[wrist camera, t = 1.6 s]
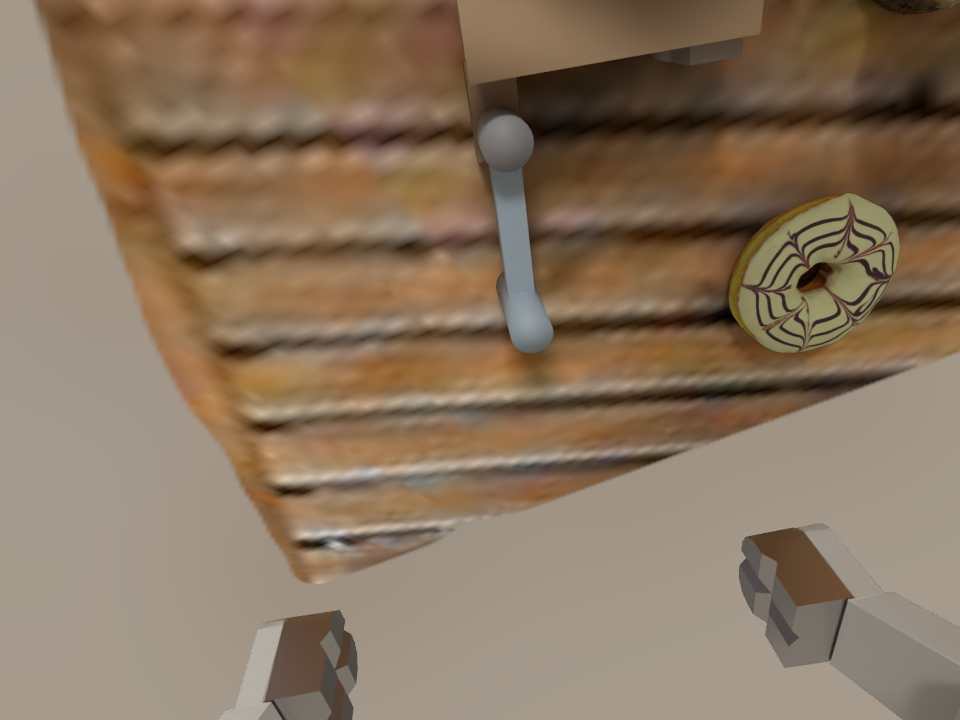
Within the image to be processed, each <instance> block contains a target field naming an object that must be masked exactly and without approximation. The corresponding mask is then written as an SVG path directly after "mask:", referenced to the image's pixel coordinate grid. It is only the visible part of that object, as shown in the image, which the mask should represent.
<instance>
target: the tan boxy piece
mask: <svg viewBox="0 0 960 720" xmlns="http://www.w3.org/2000/svg"><path fill="white" fill-rule="evenodd" d="M456 5H457V12H458V19H459V26H460V33H461V40H462V47H463V54H464V61H463V69H464V76H465V83H466V89H467V96H468V103H469V110H470V117H471V124H472V130H473V137H474V144H475V151H476V157H477V159H478V162H479V163H482V162H486V161H485V159H484V157H483V155H482V153H481V150H480V148H479V146H478V144H477V141H476V137H475V128H476V124H477V121H478V119H479V118H480V116H481V115H482V114H483V113H484V112H485V111H486V110H488V109H490V108H492V107H496V106H503V107H507V108H510V109H511V110H513V111H514V112H515V113H516V114H517V115H518V116H519V117H520V108H519V98H518V88H517V78H516V77H519V76H525V75H531V74H536V73H542V72H548V71H554V70H559V69H565V68H571V67H576V66H582V65H588V64H593V63H599V62H605V61H610V60H616V59H622V58H627V57H633V56H639V55H644V54H650V53H652V59H653V60H658V61H664V62H670V63H675V64H681V65H687V66H692V65H698V64H703V63H709V62H715V61H721V60H726V59H732V58H738V57H741V47H742V37H747V36H752V35H758V34H761V25H762V15H763V6H764V0H456ZM520 118H521V117H520Z"/></svg>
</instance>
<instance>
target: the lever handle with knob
mask: <svg viewBox="0 0 960 720" xmlns="http://www.w3.org/2000/svg"><path fill="white" fill-rule="evenodd" d="M475 137H476V141H477V144H478V146H479V148H480V150H481V153H482V155H483V157H484V159H485V161H486V162H487V164H488V165H489V169H490V176H491V184H492V191H493V198H494V206H495V213H496V220H497V228H498V235H499V242H500V250H501V257H502V265H503V273H502V274H501V275H500V276H499V278H498V280H497V285H496V287H497V292H498V295H499V297H500V300H501V304H502V307H503V311H504V314H505V318H506V322H507V325H508V329H509V333H510V336H511V340H512V343H513V345H514V346H515V347H516V348H517V349H518V350H520V351H521V352H524V353H536V352H539V351H541V350H543V349H545V348H546V347H547V346H548V345H549V344H550V342H551V340H552V338H553V328H552V325H551V323H550V320H549V318H548V316H547V313H546V311H545V308H544V306H543V304H542V301H541V299H540V296H539V294H538V292H537V289H536V287H535V283H534V280H533V270H532V261H531V251H530V242H529V232H528V223H527V213H526V204H525V194H524V185H523V175H522V167H523V166H524V165H525V164H526V163H527V162H528V160H529V159H530V157H531V155H532V152H533V148H534V138H533V134H532V132H531V130H530V128H529V126H528V125H527V124H526V123H525V122H524V121H523V120H522V119H521V118H520V117H519V116H518V115H517V114H516V113H515V112H514V111H513V110H511V109H510V108H507V107H503V106H496V107H492V108H490V109H488V110H486V111H485V112H484V113H483V114H482V115H481V116H480V118H479V119H478V121H477V124H476V128H475Z"/></svg>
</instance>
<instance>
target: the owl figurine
mask: <svg viewBox="0 0 960 720" xmlns="http://www.w3.org/2000/svg"><path fill="white" fill-rule="evenodd" d="M874 2H876V3H879V4H881V6H882V7H886V8H887V9H888V11H889V10H890V11H892V12H893V11H894V12H897V13H902V14H903V15H905V13H906V14H908V13H909V14H919V13H925V12H933V11H936V10H938V9H941V8H943V9H944V8H951V7H952V6H954V5H955V4H957V3H959V2H960V0H874Z"/></svg>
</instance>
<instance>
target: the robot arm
mask: <svg viewBox="0 0 960 720" xmlns="http://www.w3.org/2000/svg"><path fill="white" fill-rule="evenodd" d="M742 552H743V553H744V555H745V556H746V559H745V560H744V561H743V562H742V563H741V564H740V567H739V580H740V584H741V589H742V592H743V595H744V597H745V599H746V602H747V603H748V605H749V607H750V609H751V611H752V613H753V614H754V615H756V616H758V617H759V618H761V619H762V620H764V621H765V622H767V627H766V637H767V639H768V640H769V642H770V644H771V645H772V647H773V649H774V650H775V652H776V654H777V655H778V657H779V659H780V661H781V662H782V664H783V665H784V667H785V668H787V667H793V666H801V665H807V664H814V663H821V662H828V661H831V663H830V664H831V665H833V666H834V667H835V668H836V669H838V670H839V671H840V672H842V673H843V674H844V675H846V676H847V677H848V678H849V679H851V680H852V681H853V682H855V683H856V684H857V685H858V686H860V687H861V688H862V689H864V690H865V691H866V692H868V693H869V694H870V695H872V696H873V697H874V698H875V699H877V700H878V701H879V702H881V703H882V704H883V705H884V706H886V707H887V708H888V709H890V710H891V711H892V712H894V713H895V714H896V715H897V716H899V717H900V718H902V719H903V720H960V627H958V626H957V625H955V624H953V623H951V622H949V621H947V620H945V619H943V618H941V617H939V616H938V615H936V614H934V613H932V612H930V611H928V610H926V609H924V608H922V607H921V606H919V605H917V604H915V603H913V602H911V601H909V600H907V599H905V598H903V597H901V596H900V595H898V594H896V593H894V592H887V593H884V591H883V590H882V589H881V588H880V587H879V586H878V584H877V583H876V582H875V581H874V580H873V579H872V577H871V576H870V575H869V574H868V573H867V571H866V570H865V569H864V568H863V567H862V566H861V564H860V563H859V562H858V561H857V560H856V559H855V557H853V555H852V554H851V553H850V552H849V550H848V549H847V548H846V547H845V546H844V545H843V544H842V542H841V541H840V540H839V539H838V537H837V536H836V535H835V534H834V533H833V532H832V531H831V529H830V528H829V527H828V526H826V525H824V524H823V523H822V524H814V525H809V526H804V527H798V528H789V529H784V530H779V531H774V532H769V533H763V534H758V535H753V536H748V537H745V539H744V540H743V543H742ZM344 624H345V619H344V617H343V616H342V614H341V612H340V610H337V611H331V612H325V613H318V614H311V615H305V616H298V617H292V618H285V619H279V620H273V621H267V622H263V623H262V624H261V626H260V627H259V629H258V630H257V633H256V636H255V640H254V643H253V646H252V650H251V653H250V657H249V660H248V663H247V667H246V670H245V674H244V677H243V680H242V684H241V687H240V691H239V694H238V698H237V701H236V704H235V707H234V708H232V709H227V710H226V711H225V712H224V713H223V715H222V716H221V717H220V718H219V719H218V720H352V716H353V706H352V703H351V701H350V699H349V697H348V695H349V693H350V692H351V691H352V689H353V688H354V686H355V685H356V679H357V669H358V667H357V651H356V647H355V642H354V640H353V637H352V635H351V634H350V633H348V632H346V631H344Z"/></svg>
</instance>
